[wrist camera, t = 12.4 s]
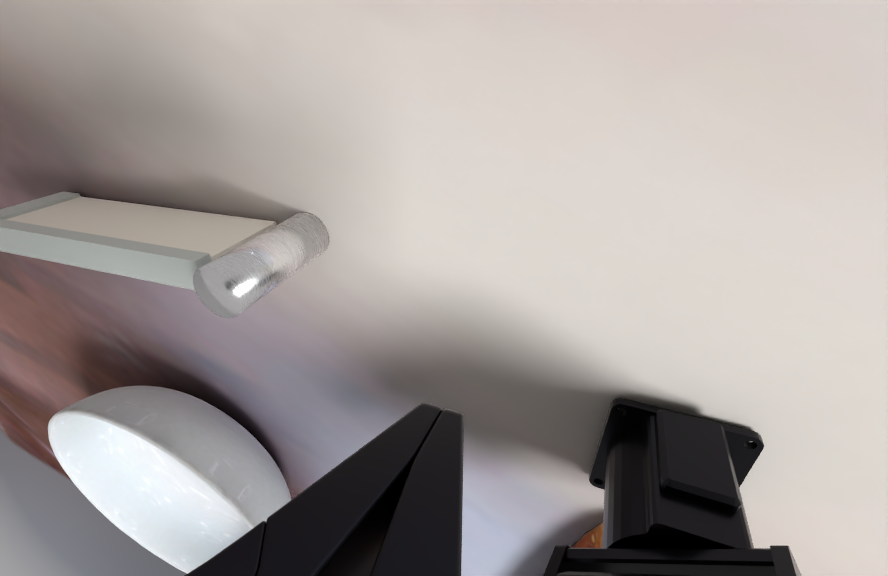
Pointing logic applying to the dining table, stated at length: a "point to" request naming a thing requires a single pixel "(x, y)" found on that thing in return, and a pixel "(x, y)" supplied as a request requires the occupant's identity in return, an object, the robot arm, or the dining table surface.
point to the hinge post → (260, 264)
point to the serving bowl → (168, 470)
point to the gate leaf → (123, 236)
